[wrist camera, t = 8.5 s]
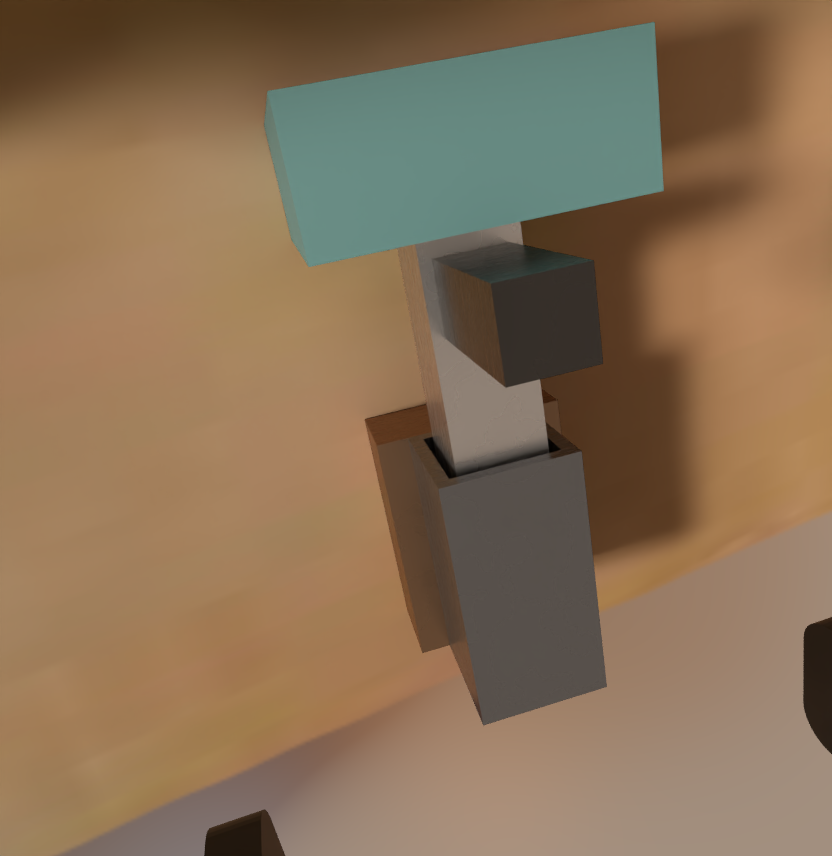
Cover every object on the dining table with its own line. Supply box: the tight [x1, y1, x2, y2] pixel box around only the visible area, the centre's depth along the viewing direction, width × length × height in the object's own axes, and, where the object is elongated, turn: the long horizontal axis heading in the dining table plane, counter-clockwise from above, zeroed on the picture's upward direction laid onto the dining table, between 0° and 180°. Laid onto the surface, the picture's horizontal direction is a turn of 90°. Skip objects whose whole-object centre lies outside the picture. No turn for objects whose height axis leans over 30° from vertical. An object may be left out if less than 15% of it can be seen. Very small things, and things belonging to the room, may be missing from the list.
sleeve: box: [365, 389, 607, 725], centre depth 35 cm, size 12×9×10 cm
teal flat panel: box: [264, 22, 664, 267], centre depth 27 cm, size 5×12×12 cm, turn 101°
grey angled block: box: [397, 222, 603, 479], centre depth 26 cm, size 16×4×11 cm, turn 11°
